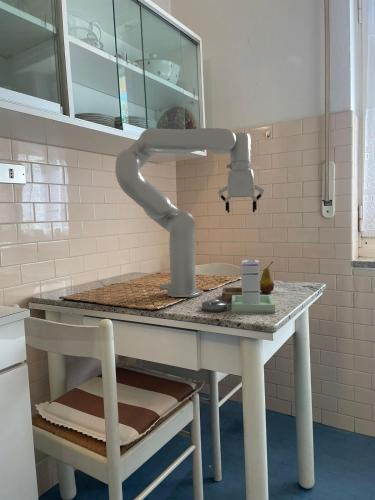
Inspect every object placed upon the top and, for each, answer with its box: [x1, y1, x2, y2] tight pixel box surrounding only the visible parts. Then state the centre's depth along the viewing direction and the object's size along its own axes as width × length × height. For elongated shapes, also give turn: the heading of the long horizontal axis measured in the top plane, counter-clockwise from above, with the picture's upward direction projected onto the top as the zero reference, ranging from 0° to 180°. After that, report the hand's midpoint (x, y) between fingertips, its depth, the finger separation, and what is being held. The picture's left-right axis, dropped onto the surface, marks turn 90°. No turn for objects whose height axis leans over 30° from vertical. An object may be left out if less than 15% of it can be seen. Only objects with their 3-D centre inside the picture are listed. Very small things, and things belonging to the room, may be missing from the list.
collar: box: [221, 286, 242, 303], centre depth 134 cm, size 10×10×3 cm
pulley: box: [201, 298, 228, 314], centre depth 120 cm, size 8×8×3 cm
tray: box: [231, 294, 276, 314], centre depth 122 cm, size 13×13×2 cm
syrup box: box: [240, 259, 261, 304], centre depth 121 cm, size 6×6×14 cm
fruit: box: [260, 261, 275, 294], centre depth 142 cm, size 6×6×12 cm
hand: (241, 212), depth 145 cm, fingers open, 9 cm apart
